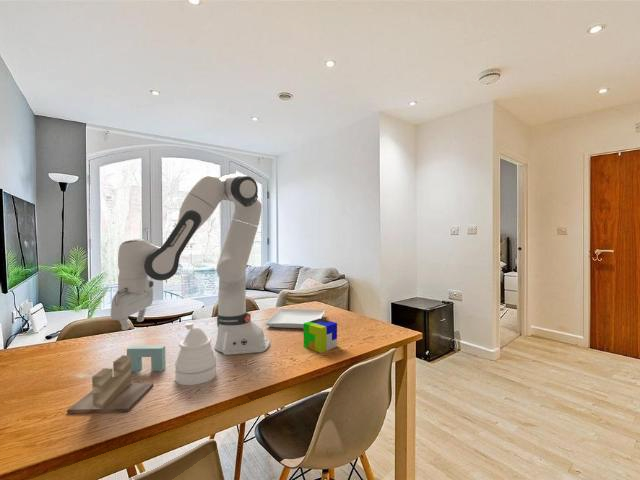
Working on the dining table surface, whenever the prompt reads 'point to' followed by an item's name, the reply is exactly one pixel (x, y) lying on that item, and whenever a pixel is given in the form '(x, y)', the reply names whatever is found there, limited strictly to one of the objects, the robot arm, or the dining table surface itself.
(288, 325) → the square plate
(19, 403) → the dining table surface
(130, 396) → the stand
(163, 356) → the green arch block
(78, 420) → the dining table surface
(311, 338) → the puzzle toy
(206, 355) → the honey pot
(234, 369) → the dining table surface
